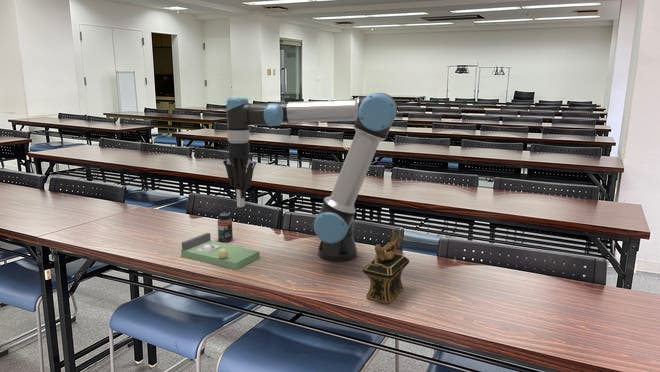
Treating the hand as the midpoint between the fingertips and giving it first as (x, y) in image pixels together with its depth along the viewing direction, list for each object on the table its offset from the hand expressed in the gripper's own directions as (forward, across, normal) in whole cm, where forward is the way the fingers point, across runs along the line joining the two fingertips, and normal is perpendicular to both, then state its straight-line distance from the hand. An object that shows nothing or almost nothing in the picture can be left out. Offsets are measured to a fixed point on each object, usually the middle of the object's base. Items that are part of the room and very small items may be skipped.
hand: (241, 206), depth 170 cm
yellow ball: (+16, +3, +8) cm, 18 cm away
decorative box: (+22, -57, 0) cm, 61 cm away
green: (+20, +9, +2) cm, 22 cm away
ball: (+18, +15, +2) cm, 24 cm away
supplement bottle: (+20, +20, -14) cm, 32 cm away
